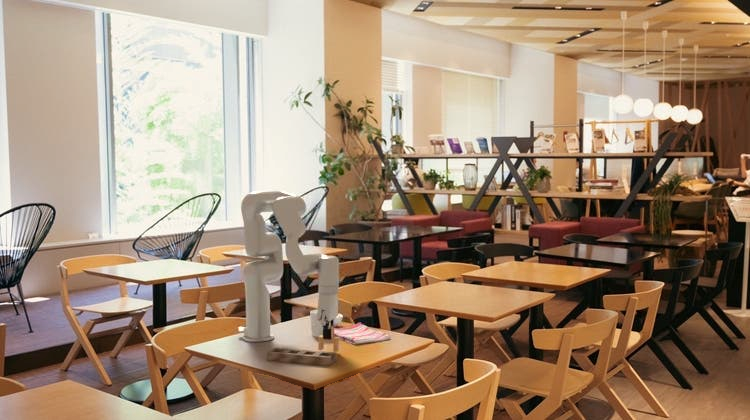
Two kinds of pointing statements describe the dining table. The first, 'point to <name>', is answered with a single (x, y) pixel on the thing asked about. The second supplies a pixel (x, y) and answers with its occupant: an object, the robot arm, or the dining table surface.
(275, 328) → the dining table surface
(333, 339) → the clip
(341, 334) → the dish towel
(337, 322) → the white bowl
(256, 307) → the robot arm
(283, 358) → the wooden compartment tray
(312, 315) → the white cup
